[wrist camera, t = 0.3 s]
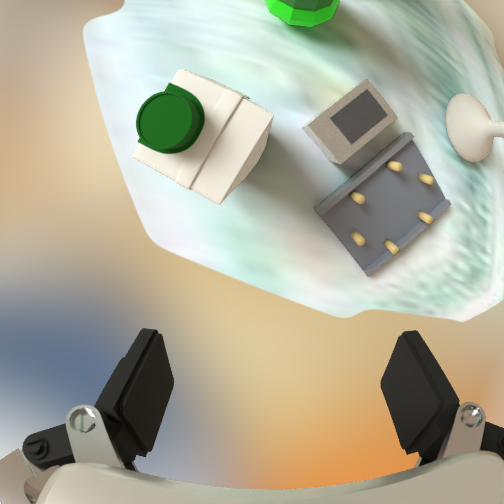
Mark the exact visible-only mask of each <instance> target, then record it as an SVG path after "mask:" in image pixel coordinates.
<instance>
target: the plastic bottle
mask: <svg viewBox="0 0 504 504" xmlns="http://www.w3.org/2000/svg"><path fill="white" fill-rule="evenodd" d="M265 2H266V4H267V7H268V9H269V11H270V13H271V14H273V15H274V16H276V17H278V18H279V19H281V20H283V21H284V22H286V23H288V24H289V25H297V26H306V27H313V26H315V25H318V24H320V23H323V22H325V21H328V20H331V19H332V17H333V16H334V13H335V11H336V9H337V6H338V4H339V2H340V1H339V0H265Z"/></svg>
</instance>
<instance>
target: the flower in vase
mask: <svg viewBox="0 0 504 504" xmlns="http://www.w3.org/2000/svg"><path fill="white" fill-rule="evenodd" d="M445 119H446V129H447V133H448V136H449V139H450V141H451V144H452V145H453V147H454V149H455V150H456V151H457V153H458V154H459V155H460V156H461V157H462V158H463V159H465V160H467V161H469V162H478V161H481V160H483V159H484V158H485V157H486V156H487V155H488V154H489V152H490V150H491V147H492V144H493V139H494V137H503V138H504V121H502V122H496V121H491V118H490V116H489V114H488V112H487V110H486V109H485V107H484V106H483V105H482V103H481V102H480V101H479V100H477V99H476V98H475V97H473V96H471V95H468V94H465V93H460V94H457V95H455V96H454V97H453V98H452V99H451V100H450V102H449V104H448V107H447V110H446V118H445Z"/></svg>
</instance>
